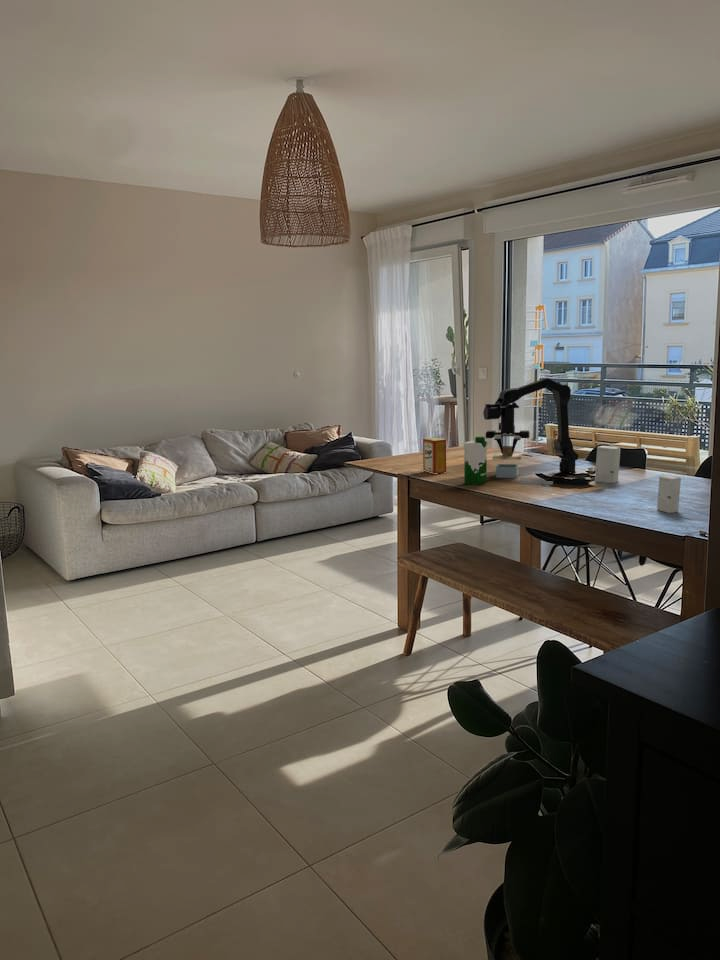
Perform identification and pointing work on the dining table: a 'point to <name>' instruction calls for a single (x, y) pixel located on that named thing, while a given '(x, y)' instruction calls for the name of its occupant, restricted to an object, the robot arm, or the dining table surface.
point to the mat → (534, 481)
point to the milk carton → (475, 461)
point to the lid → (507, 454)
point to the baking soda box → (434, 455)
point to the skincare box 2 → (668, 494)
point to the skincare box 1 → (607, 464)
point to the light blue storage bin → (507, 471)
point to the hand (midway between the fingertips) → (507, 453)
